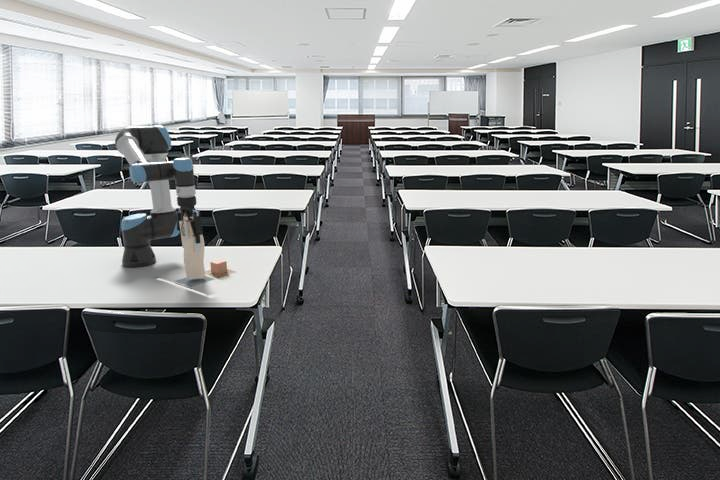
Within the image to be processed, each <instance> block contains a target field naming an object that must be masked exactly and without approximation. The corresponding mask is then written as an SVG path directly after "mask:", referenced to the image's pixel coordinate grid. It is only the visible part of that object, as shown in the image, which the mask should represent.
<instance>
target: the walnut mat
mask: <svg viewBox="0 0 720 480" xmlns="http://www.w3.org/2000/svg"><path fill="white" fill-rule="evenodd" d="M235 273H237V271H236V270H232V269H229V268H227V272H225V273H222V274H219V275H218V274H214V273H211V269H208V270H205V275H209V276H212V277H215V278H222V277H226V276H228V275H232V274H235Z"/></svg>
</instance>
